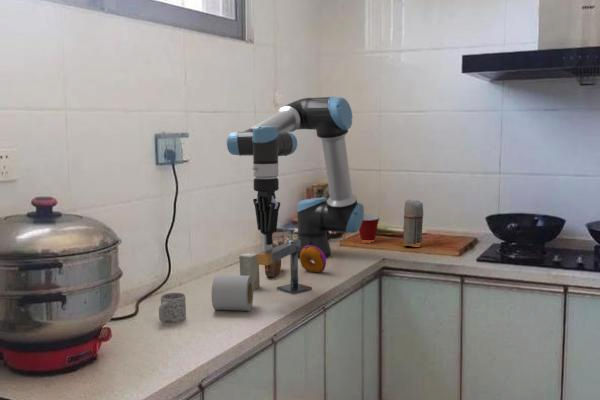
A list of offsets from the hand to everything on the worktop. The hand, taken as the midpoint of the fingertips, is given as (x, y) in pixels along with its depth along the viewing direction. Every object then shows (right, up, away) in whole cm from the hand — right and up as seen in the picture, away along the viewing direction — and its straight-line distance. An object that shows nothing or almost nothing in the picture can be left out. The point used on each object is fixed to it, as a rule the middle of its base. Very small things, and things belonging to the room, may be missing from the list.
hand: (267, 254), depth 195 cm
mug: (-26, -17, -19) cm, 36 cm away
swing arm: (+4, -1, +1) cm, 4 cm away
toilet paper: (-9, -15, -9) cm, 20 cm away
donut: (+15, -10, +34) cm, 39 cm away
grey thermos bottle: (+58, -4, +79) cm, 98 cm away
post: (+8, -12, +12) cm, 19 cm away
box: (-6, -12, +15) cm, 20 cm away
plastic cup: (+40, -2, +88) cm, 97 cm away
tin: (0, -10, +33) cm, 34 cm away
